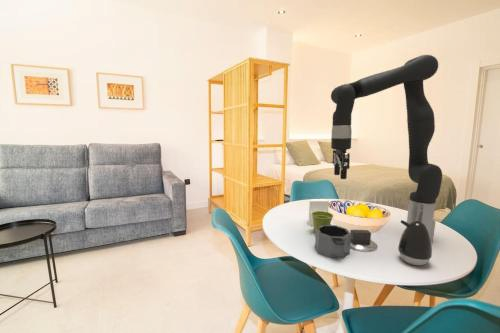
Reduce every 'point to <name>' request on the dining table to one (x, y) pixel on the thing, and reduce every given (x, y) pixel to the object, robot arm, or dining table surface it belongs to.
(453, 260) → the dining table surface
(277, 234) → the dining table surface
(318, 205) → the white tall block
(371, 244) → the lid
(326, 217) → the plant pot
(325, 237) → the pot
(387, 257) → the dining table surface
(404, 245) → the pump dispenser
